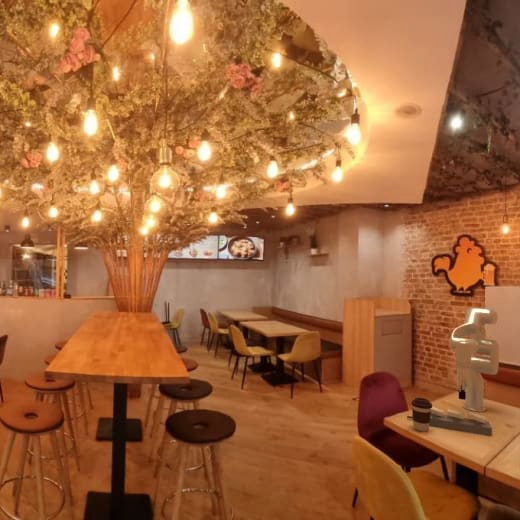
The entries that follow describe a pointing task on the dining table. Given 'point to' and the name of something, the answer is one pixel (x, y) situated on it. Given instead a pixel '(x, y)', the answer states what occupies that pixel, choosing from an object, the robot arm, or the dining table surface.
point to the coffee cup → (421, 414)
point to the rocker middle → (455, 414)
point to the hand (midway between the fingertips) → (462, 398)
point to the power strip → (460, 424)
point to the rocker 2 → (477, 417)
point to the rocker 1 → (437, 411)
